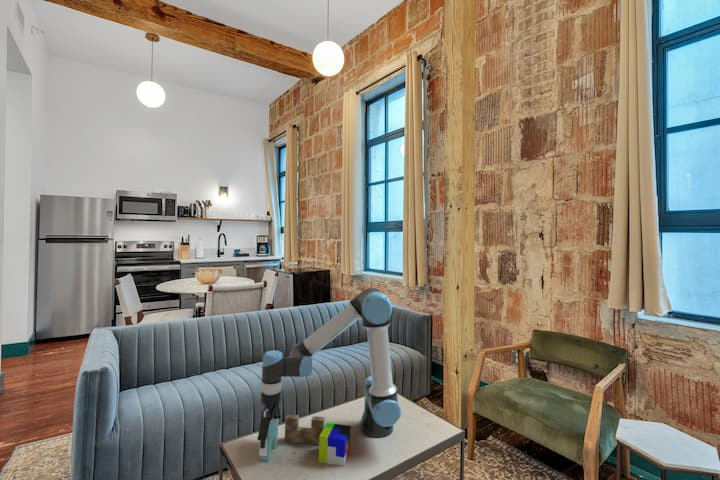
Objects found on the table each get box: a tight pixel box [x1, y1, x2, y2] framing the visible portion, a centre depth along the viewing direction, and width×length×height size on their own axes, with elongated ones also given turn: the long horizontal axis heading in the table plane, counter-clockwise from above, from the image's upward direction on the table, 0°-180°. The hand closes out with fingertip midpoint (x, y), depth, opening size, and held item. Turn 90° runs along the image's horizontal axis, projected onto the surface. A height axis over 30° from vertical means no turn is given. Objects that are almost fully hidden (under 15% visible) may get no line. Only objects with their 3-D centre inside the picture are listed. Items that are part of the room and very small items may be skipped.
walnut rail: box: [284, 413, 326, 445], centre depth 146 cm, size 16×3×10 cm, turn 86°
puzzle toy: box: [318, 422, 352, 467], centre depth 137 cm, size 10×10×10 cm
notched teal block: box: [260, 419, 279, 462], centre depth 138 cm, size 11×3×10 cm, turn 176°
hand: (268, 444), depth 138 cm, fingers open, 13 cm apart
